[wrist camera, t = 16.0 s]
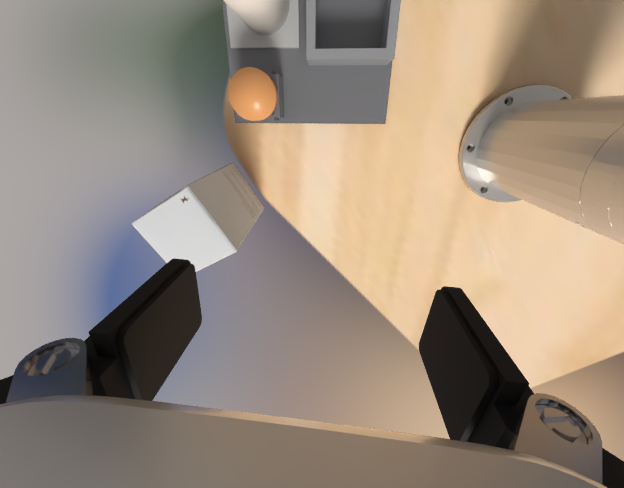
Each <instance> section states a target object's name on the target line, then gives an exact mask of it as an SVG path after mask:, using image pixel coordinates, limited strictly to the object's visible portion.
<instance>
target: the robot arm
mask: <svg viewBox="0 0 624 488" xmlns="http://www.w3.org/2000/svg"><path fill="white" fill-rule="evenodd" d="M505 99H506V103H505V104H504V101H505ZM468 145H469V149H467V147H468ZM459 167H460V172H461V175H462V178H463V180H464V181H465V183H466V185H467V186H468V187H469V188H470V189H471V190H472V191H473V192H474V193H476V194H478V195H479V196H481V197H483V198H485V199H488V200H491V201H495V202H513V201H519V200H524V201H526V202H528V203H531V204H533V205H535V206H537V207H540V208H542V209H544V210H546V211H549V212H551V213H553V214H556V215H558V216H560V217H562V218H565V219H567V220H569V221H571V222H574V223H576V224H578V225H580V226H583V227H585V228H587V229H590V230H592V231H594V232H597V233H599V234H602V235H604V236H606V237H608V238H611V239H613V240H615V241H618V242H620V243H623V244H624V95H623V96H608V97H593V98H578V99H573V97H572V96H571V95H569V94H568V93H567V92H565V91H564V90H562V89H560V88H557V87H554V86H549V85H531V86H525V87H520V88H516V89H514V90H511V91H508V92H506V93H504V94H502V95H501V96H499V97H497V98H496V99H494V100H493V101H491V102H490V103H489V104H488V105H486V106H485V107H484V108H483V109H482V110H481V111H480V112H479V113H478V115H477V116H476V117H475V118H474V119H473V121H472V122H471V124H470V125H469V127H468V128H467V131H466V133H465V135H464V137H463V139H462V143H461V147H460V151H459ZM481 188H482V189H481ZM480 189H481V190H480ZM201 321H202V316H201V308H200V301H199V294H198V287H197V279H196V272H195V266H194V265H193V264H191V262H190V261H189V260H185V259H171V260H170V261H169V262H168V263H167V264H166V265H164V266H163V267H162V268H161V269H160V270H159V271H158V272H156V273H155V274H154V275H153V276H152V277H151V278H150V279H149V280H148V281H146V282H145V283H144V284H143V285H142V286H141V287H139V288H138V289H137V290H136V291H135V292H134V293H133V294H132V295H130V296H129V297H128V298H127V299H126V300H125V301H123V302H122V303H121V304H120V305H119V306H118V307H117V308H116V309H115V310H113V311H112V312H111V313H110V314H109V315H108V316H106V317H105V318H104V319H103V320H102V321H101V322H100V323H98V324H97V325H96V326H95V327H94V328H93V329H92V330H90V331H89V334H90V336H89V337H88V338H87V339H86V340H85V341H83V340H81V339H77V338H65V339H60V340H56V341H53V342H50V343H48V344H45V345H43V346H41V347H39V348H37V349H35V350H34V351H32V352H31V353H29V354H28V355H27V356H25V357H24V358H23V360H21V361H20V362H19V364H18V366H17V367H16V369H15V372H14V375H13V376H10V377H8V378H4V379H2V380H0V488H624V462H623V461H622V460H620V459H619V458H617V457H616V456H614V455H613V454H611V453H609V452H608V451H606V450H605V449H603V448H602V441H601V437H600V434H599V433H598V431H597V429H596V428H595V426H594V425H593V424H592V423H591V422H590V420H589V419H588V418H587V417H586V416H584V415H583V414H582V413H581V412H580V411H579V410H577V409H576V408H575V407H573V406H572V405H570V404H568V403H567V402H565V401H563V400H561V399H559V398H557V397H555V396H551V395H548V394H540V393H536V394H534V393H533V392H532V390H531V389H530V387H529V386H528V385H529V383H528V381H527V380H526V378H525V377H524V376H523V374H522V373H521V371H520V370H519V369H518V367H517V366H516V364H515V363H514V362H513V360H512V359H511V357H510V356H509V355H508V353H507V352H506V350H505V349H504V348H503V346H502V345H501V344H500V342H499V341H498V339H497V338H496V337H495V335H494V334H493V332H492V331H491V330H490V328H489V327H488V325H487V324H486V323H485V321H484V320H483V318H482V317H481V316H480V314H479V313H478V311H477V310H476V309H475V307H474V306H473V304H472V303H471V302H470V300H469V299H468V297H467V296H466V295H465V293H464V292H463V290H462V289H461V288H455V287H445V286H444V287H442V289H441V290H437V291H436V293H435V296H434V300H433V303H432V306H431V309H430V312H429V315H428V318H427V321H426V324H425V327H424V330H423V333H422V336H421V339H420V342H419V351H420V354H421V357H422V360H423V363H424V366H425V369H426V372H427V374H428V377H429V380H430V383H431V386H432V389H433V392H434V394H435V397H436V400H437V403H438V406H439V409H440V411H441V414H442V417H443V420H444V423H445V426H446V428H447V431H448V434H449V437H450V439H444V438H437V437H430V436H424V435H416V434H409V433H401V432H393V431H386V430H378V429H371V428H364V427H356V426H349V425H341V424H333V423H326V422H317V421H309V420H301V419H294V418H286V417H278V416H271V415H263V414H255V413H247V412H239V411H230V410H222V409H214V408H206V407H198V406H189V405H181V404H172V403H164V402H156V401H152V400H153V399H154V397H155V395H156V394H157V392H158V391H159V389H160V388H161V386H162V385H163V383H164V382H165V380H166V378H167V377H168V375H169V374H170V372H171V371H172V369H173V368H174V366H175V364H176V363H177V361H178V360H179V358H180V357H181V355H182V353H183V352H184V350H185V349H186V347H187V346H188V344H189V342H190V341H191V340H192V338H193V336H194V335H195V333H196V332H197V330H198V329H199V327H200V325H201Z"/></svg>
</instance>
